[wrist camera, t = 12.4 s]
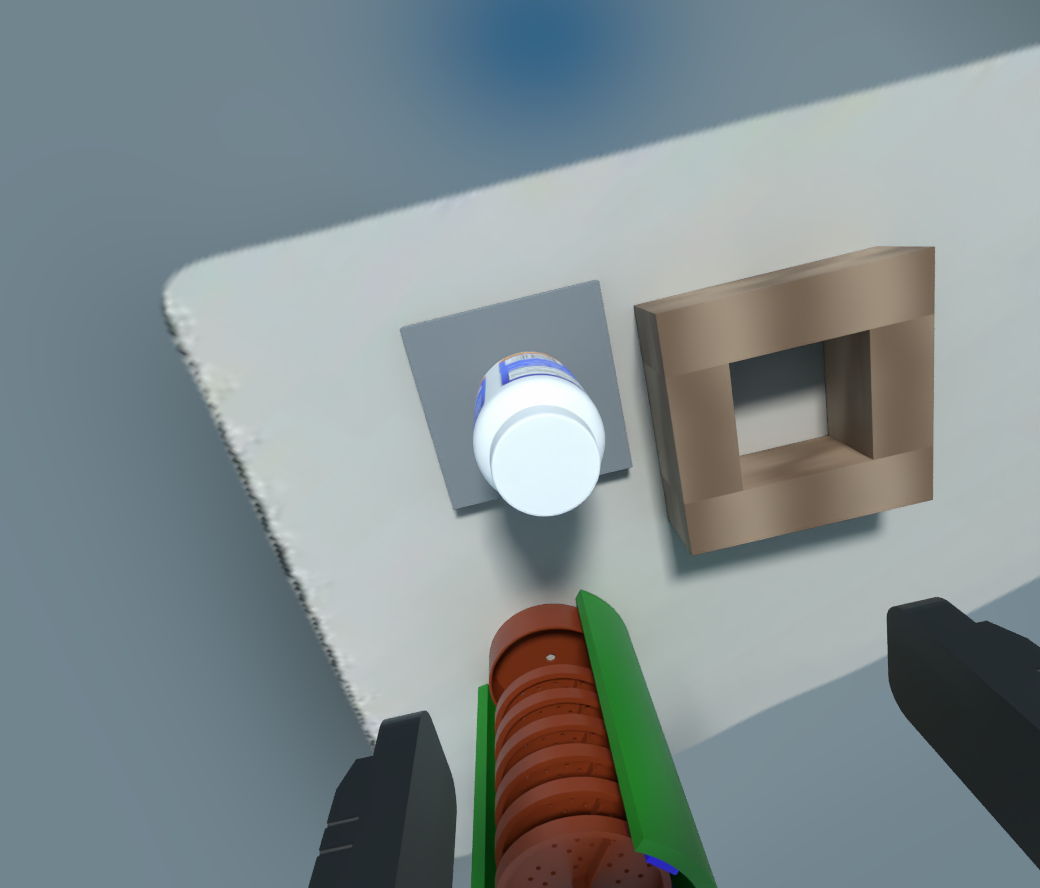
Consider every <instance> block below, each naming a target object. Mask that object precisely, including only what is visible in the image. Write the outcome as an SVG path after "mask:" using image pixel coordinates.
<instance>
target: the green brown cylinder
mask: <svg viewBox="0 0 1040 888" xmlns="http://www.w3.org/2000/svg"><path fill="white" fill-rule="evenodd" d="M576 602H577V606H578V608H576V607H573V606H569V605H564V604H543V605H538V606H534V607H530V608H528V609H525V610H523V611H521V612H519V613H517V614H515V615H514V616H512V617H511V618H510V619H508V620H507V621H506V622H505V623H504V624H503V625H502V626H501V628H500V629H499V630H498V632H497V633H496V635H495V637H494V639H493V641H492V644H491V648H490V655H489V685H488V684H486V685H483V686H481V687H479V688H478V713H477V740H476V767H475V794H474V821H473V848H472V875H471V888H717V885H716V882H715V879H714V876H713V874H712V871H711V868H710V865H709V863H708V859H707V856H706V854H705V851H704V848H703V845H702V842H701V840H700V836H699V834H698V831H697V828H696V825H695V822H694V819H693V817H692V814H691V811H690V808H689V805H688V802H687V799H686V797H685V794H684V791H683V788H682V785H681V782H680V779H679V776H678V774H677V771H676V768H675V765H674V762H673V759H672V756H671V754H670V751H669V748H668V745H667V742H666V739H665V736H664V734H663V731H662V728H661V725H660V722H659V719H658V716H657V713H656V711H655V708H654V705H653V702H652V699H651V696H650V693H649V691H648V688H647V685H646V682H645V679H644V676H643V673H642V671H641V668H640V665H639V662H638V659H637V656H636V653H635V651H634V648H633V645H632V642H631V639H630V636H629V633H628V631H627V628H626V626H625V624H624V622H623V620H622V619H621V617H620V616H619V615H618V613H617V612H616V611H615V610H614V609H613V608H612V607H611V606H610V605H609V604H607V603H606V602H605V601H603V600H602V599H600V598H599V597H597V596H595V595H593V594H591V593H589V592H586V591H583V590H580V592H579V594H578V595H577V597H576ZM548 654H554V655H555V659H553V660H547V659H546V656H547V655H548Z"/></svg>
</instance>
